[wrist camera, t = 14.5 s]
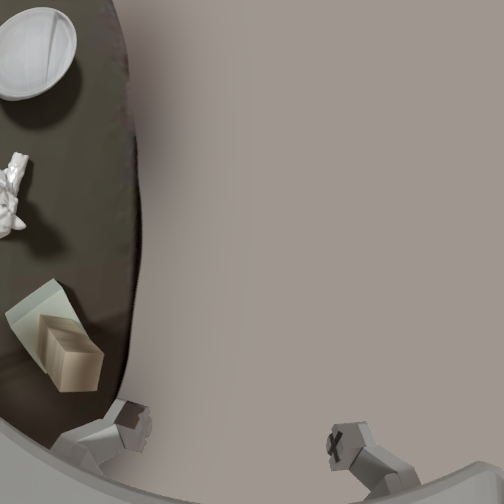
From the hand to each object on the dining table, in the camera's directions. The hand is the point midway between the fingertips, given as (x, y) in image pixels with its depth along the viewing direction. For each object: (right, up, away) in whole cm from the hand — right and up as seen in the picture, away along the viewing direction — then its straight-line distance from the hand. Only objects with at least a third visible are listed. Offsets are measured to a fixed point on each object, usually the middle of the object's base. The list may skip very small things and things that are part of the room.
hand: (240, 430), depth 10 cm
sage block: (-28, -2, +18) cm, 33 cm away
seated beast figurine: (-28, +14, +9) cm, 33 cm away
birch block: (-25, -3, +16) cm, 30 cm away
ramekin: (-26, +29, +6) cm, 39 cm away
